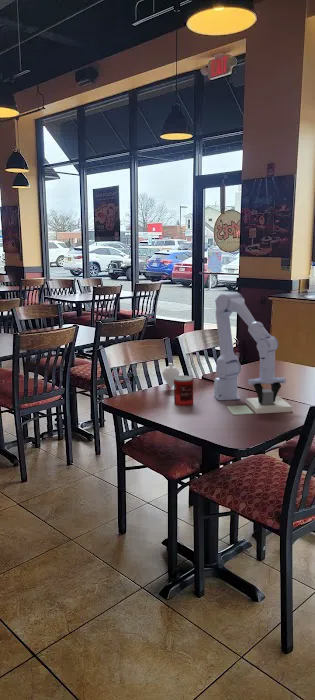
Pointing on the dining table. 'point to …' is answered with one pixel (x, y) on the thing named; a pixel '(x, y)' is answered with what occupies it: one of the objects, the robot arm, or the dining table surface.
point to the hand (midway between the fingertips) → (266, 401)
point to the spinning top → (170, 374)
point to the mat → (239, 410)
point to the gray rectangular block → (267, 397)
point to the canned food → (183, 390)
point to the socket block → (269, 406)
